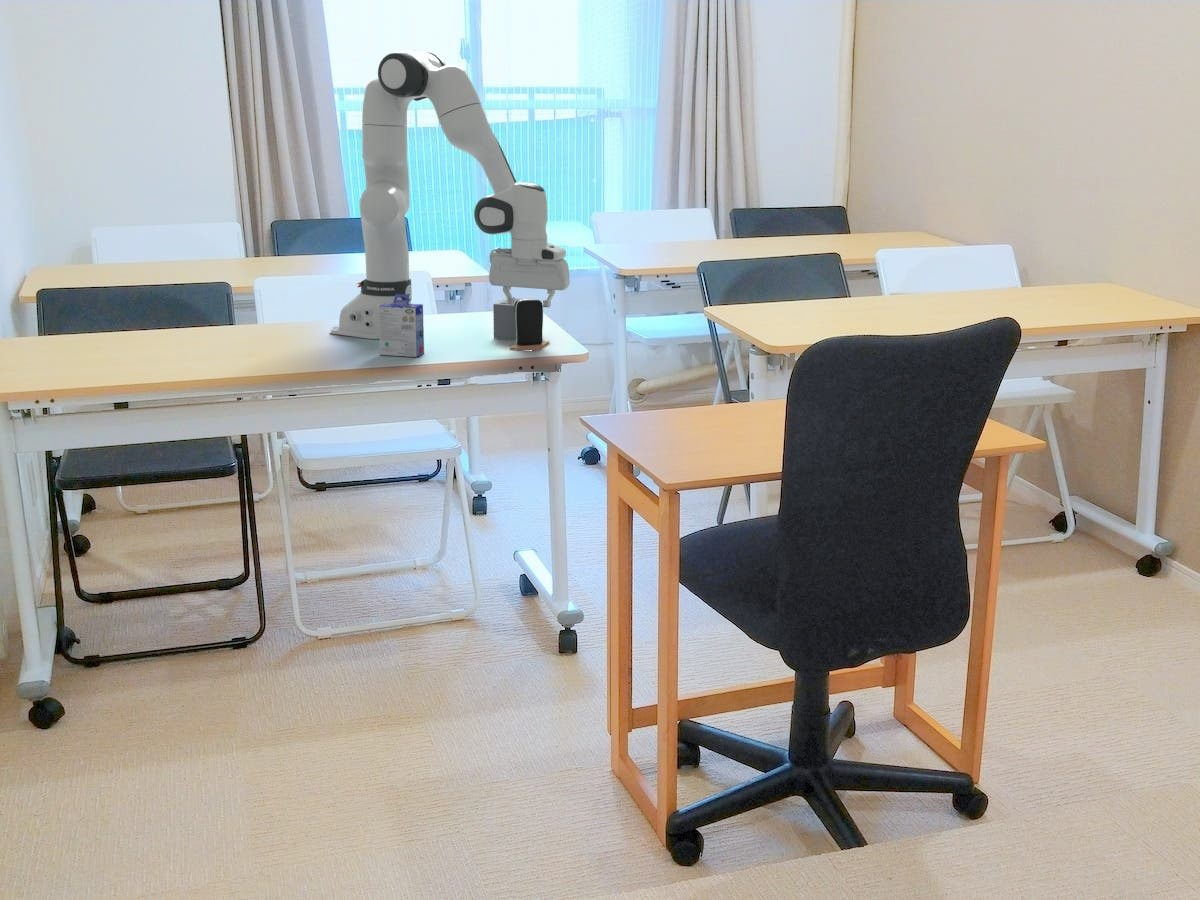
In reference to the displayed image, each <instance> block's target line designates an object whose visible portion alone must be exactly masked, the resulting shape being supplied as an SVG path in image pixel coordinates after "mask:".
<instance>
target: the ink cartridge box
mask: <svg viewBox="0 0 1200 900" xmlns="http://www.w3.org/2000/svg"><path fill="white" fill-rule="evenodd" d="M398 297H405V298H406V300H397V298H398ZM378 319H379V339H378V343H379V344H378V347H379V348H378V349H379V355H380V356H393V357H409V358H410V357H412V358H417V357H419V356H422V355H425V339H424V338H425V335H424V334H425V333H424V332H425V331H424V329H425V327H424V304H423V303H411V304H409V295H408V294H396V295H395V299H394V303H384V304H382V305H380V306H378Z"/></svg>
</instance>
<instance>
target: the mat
mask: <svg viewBox="0 0 1200 900" xmlns="http://www.w3.org/2000/svg"><path fill="white" fill-rule="evenodd" d="M547 344H548V345H550V341H549V340H542V344H533V345H517V344H516V343H515V344H513V345H511V346H509V350H510V349H517V350H516V351H522V350H532V351H531V352H534V351H537V350H538V351H540V350H541V349H543V348H545V347H547V346H548V345H547ZM544 346H545V347H544ZM542 347H543V348H542ZM540 348H541V349H540ZM539 349H540V350H539ZM538 351H537V352H538Z"/></svg>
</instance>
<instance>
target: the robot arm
mask: <svg viewBox="0 0 1200 900" xmlns="http://www.w3.org/2000/svg"><path fill="white" fill-rule="evenodd" d="M377 77H378V78H376V79H373V80H371V81H369V82H368V84H366V86H365V91H364V96H363V103H362V104H363V105H362V115H361V117H362V119H361V125H362V126H361V127H362V132H361V133H362V135H361V137H362V141H361V142H362V143H361V144H362V159H363V166H364V173H365V175H364V176H365V189H364V191H363V192H362V194H361V195H360V200H359V211H360V221H361V231H362V237H363V242H364V243H363V244H364V245H363V246H364V255H365V257H364V258H365V277H366V278H364V279H363V280H361V281H360V282H358V283H357V288H360V293H359V294H357V295H356V296H355V297H353V299H351V300H350V301H349V302H348V303H347V304H345V305H344V306H343V307H342V308H341V310H340V313H339V319H338V324H335V325H334V326H332V327H331V328H330V333H331V334H333V335H341V336H348V337H353V338H362V339H369V340H379V319H378V306H380V305H382V304H384V303H394V299H395V295H396V294H408V295H409V304H412V297H413V295H412V294H413V291H412V289H413V288H412V287H413V286H412V279H411V278H410V255H409V254H410V253H409V245H408V236H407V228H406V214H407V212H408V211H409V208H410V181H409V180H410V179H409V167H408V126H407V125H408V118H407V117H408V109H409V104H410V103H411V102H412V101H416V102H418V101H422V100H425V99H428V100H429V101H430V102H431V104H432V105H433V107H434V111H435V114H436V116H437V120H438V122H439V124H440V127H441V130H442V132H443V134H444V136H445V138H446V139H447V141H448V142H449V144H451V146H453V147H455V148H456V149H458V150H460V151H463V152H464V153H466V154H468V155H469V156H471V157H473V158H474V159H475V160H476V161H478V163H479V164H480V165H481V167H482V169H483V171H484V174H485V176H486V177H487V180H488V182H489V185H490V186H491V189H492V191H493V193H494V194H490V195H487V196H484V197H482V198H480V200H478V202H477V203H476V205H475V207H474V212H473V214H474V215H473V216H474V221H475V223H476V226H477V227H478V229H479V230H481V231H482V232H483V233H485V234H488V235H492V236H494V235H495V236H496V235H501V234H508V233H509V234H510V237H511V240H510V241H511V244H510V245H511V248H502V247H496V248H494V249H493V250H491V251H490V253H489V262H490V267H489V272H488V273H489V275H488V276H489V277H488V280H489V281H488V282H489V283H490V285H491V286H495V287H502V291H503V293H504V295H505V298H507V304H509V305H514V304H515V298H516V297H515V296H513V295H512V293H511V290H512V288H524V289H536V290H538V289H539V290H546V291H547V294H548V296H547V298H545V299H543V300H542V305H543V308H549V309H550V308H551V305H552V302H551V300H552V299H553V297H554V296H555V294H556V291H565V290H567V289H568V288H569V287H570V269H569V263H568V261H567V260H566V259H564V258H565V257H566V255H567V251H566V249H564V248H562V247H560V246H559V245H558V246H557V245H555V244H553V243H550V242H549V241H548V234H547V230H546V229H547V223H548V200H547V193H546V191H545V189H544V187H543V186H541V185H540V184H537V183H535V182H529V181H528V182H527V181H517V179H516V178H515V176H514V175H515V174H514V173H513V171H512V168H511V166H510V164H509V162H508V159H507V157H506V155H505V153H504V151H503V149H502V147H501V144H500V143H499V141H498V138H496V135H495V134H494V133H495V132H493V129H492V128H491V125H490V123H489V120H488V118H487V116H486V114H485V111H484V108H483V105H482V103H481V100H480V98H479V96H478V93H477V91H476V89H475V87H474V84H473V82H472V80H471V79H470V77H469V76H468V74H467V72H466V70H465V69H463V67H460V66H458V65H453V64H450V65H449V64H448V65H447V64H446V63H445V61H444V60H443V59H442V58H441V57H439V56H438V55H436V54H434V53H432V52H425V51H422V50H414V49H412V50H408V51H407V50H406V51H405V50H396V51H393V52H390V53H388V54H387V55H385V56H384V57H383V58H382V59H381V61H380V63H379V64H378V68H377ZM397 300H406V298H405V297H398V298H397Z"/></svg>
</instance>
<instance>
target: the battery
mask: <svg viewBox="0 0 1200 900" xmlns="http://www.w3.org/2000/svg"><path fill="white" fill-rule="evenodd" d="M543 308H544V307H543V301H542V300H541V299H538V298H519V299H518V300H517V301H516V302H515V305H514V319H515V323H516V340H515V344H517V345H533V344H542V341H543V327H544V309H543Z"/></svg>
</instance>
